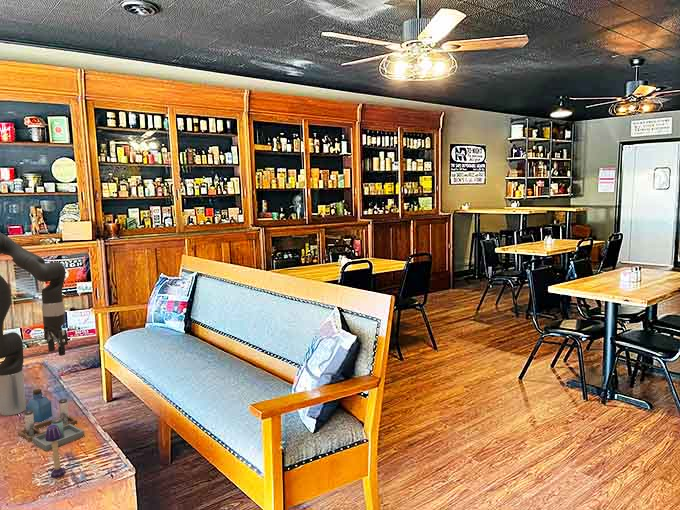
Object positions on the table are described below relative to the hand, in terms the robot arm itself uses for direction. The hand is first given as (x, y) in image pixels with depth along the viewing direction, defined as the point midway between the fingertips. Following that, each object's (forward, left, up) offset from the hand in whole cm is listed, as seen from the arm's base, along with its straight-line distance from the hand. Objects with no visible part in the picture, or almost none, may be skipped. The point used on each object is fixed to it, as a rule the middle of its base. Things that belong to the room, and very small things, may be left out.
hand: (56, 353), depth 202 cm
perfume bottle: (-9, -5, -28) cm, 30 cm away
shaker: (+16, -9, -27) cm, 33 cm away
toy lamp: (+40, -21, -28) cm, 53 cm away
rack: (+4, -7, -28) cm, 29 cm away
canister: (+4, -1, -28) cm, 28 cm away
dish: (+16, -9, -28) cm, 33 cm away
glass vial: (+4, -14, -28) cm, 31 cm away
